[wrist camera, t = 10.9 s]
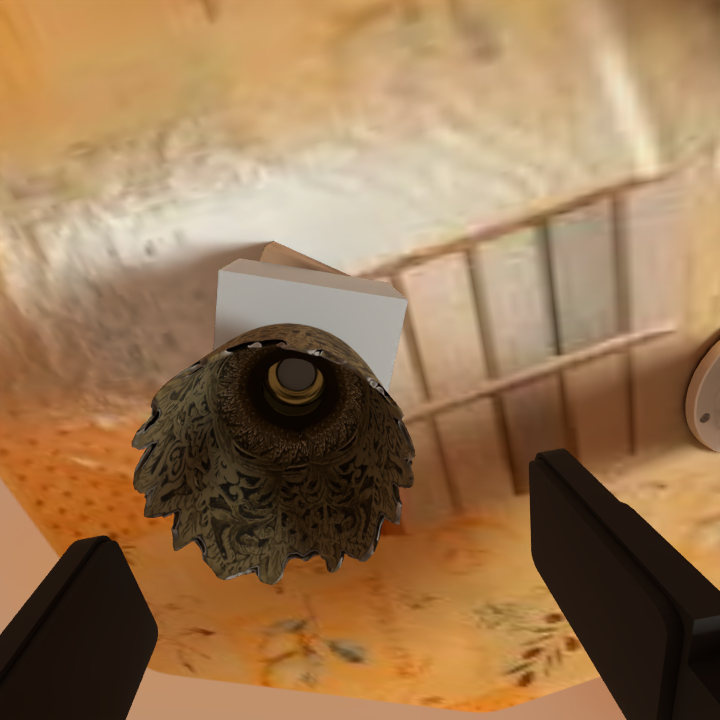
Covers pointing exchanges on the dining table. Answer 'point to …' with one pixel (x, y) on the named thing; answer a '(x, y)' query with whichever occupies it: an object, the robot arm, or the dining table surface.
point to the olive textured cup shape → (275, 455)
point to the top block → (311, 312)
